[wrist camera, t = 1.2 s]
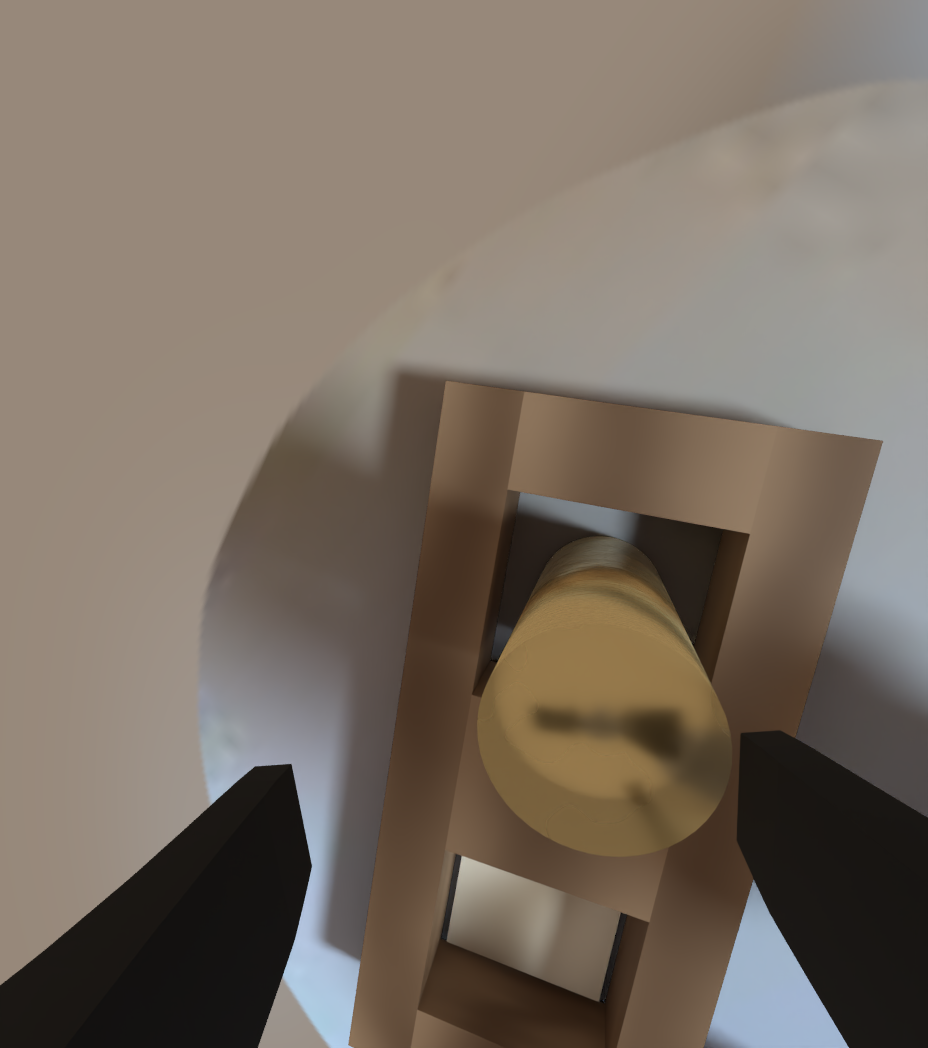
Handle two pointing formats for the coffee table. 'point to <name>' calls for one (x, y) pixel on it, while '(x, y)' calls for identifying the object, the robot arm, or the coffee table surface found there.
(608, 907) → the mount block
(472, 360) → the coffee table surface
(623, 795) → the peg
